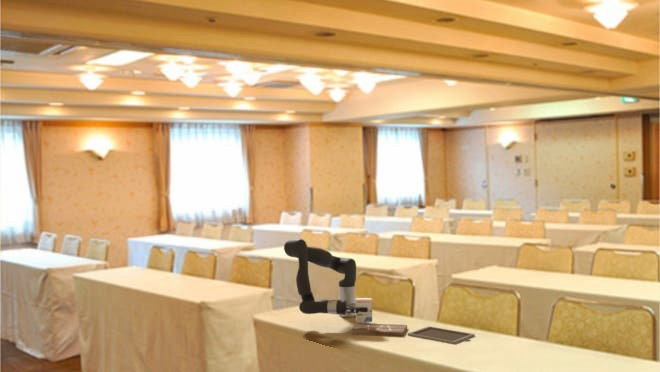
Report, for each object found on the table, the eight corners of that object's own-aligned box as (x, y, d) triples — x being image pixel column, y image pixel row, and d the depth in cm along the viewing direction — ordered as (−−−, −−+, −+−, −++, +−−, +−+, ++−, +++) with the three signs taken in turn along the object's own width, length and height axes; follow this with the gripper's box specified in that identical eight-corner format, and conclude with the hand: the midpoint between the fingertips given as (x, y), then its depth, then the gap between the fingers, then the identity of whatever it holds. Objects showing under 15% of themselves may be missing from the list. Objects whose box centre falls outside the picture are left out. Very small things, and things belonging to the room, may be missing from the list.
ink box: (372, 320, 346) (372, 297, 345) (371, 322, 341) (371, 299, 340) (356, 319, 347) (355, 297, 346) (355, 321, 342) (355, 299, 341)
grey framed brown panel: (428, 326, 347) (479, 334, 327) (428, 329, 347) (479, 338, 327) (407, 333, 333) (459, 342, 313) (407, 336, 333) (459, 346, 313)
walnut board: (358, 326, 353) (358, 322, 353) (407, 328, 346) (406, 324, 346) (351, 334, 338) (351, 330, 338) (402, 336, 331) (402, 332, 331)
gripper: (333, 302, 340) (365, 304, 336) (340, 297, 354) (371, 298, 350) (333, 317, 340) (366, 318, 336) (340, 311, 354) (371, 313, 350)
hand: (368, 308), depth 343 cm, fingers closed on ink box, 5 cm apart
